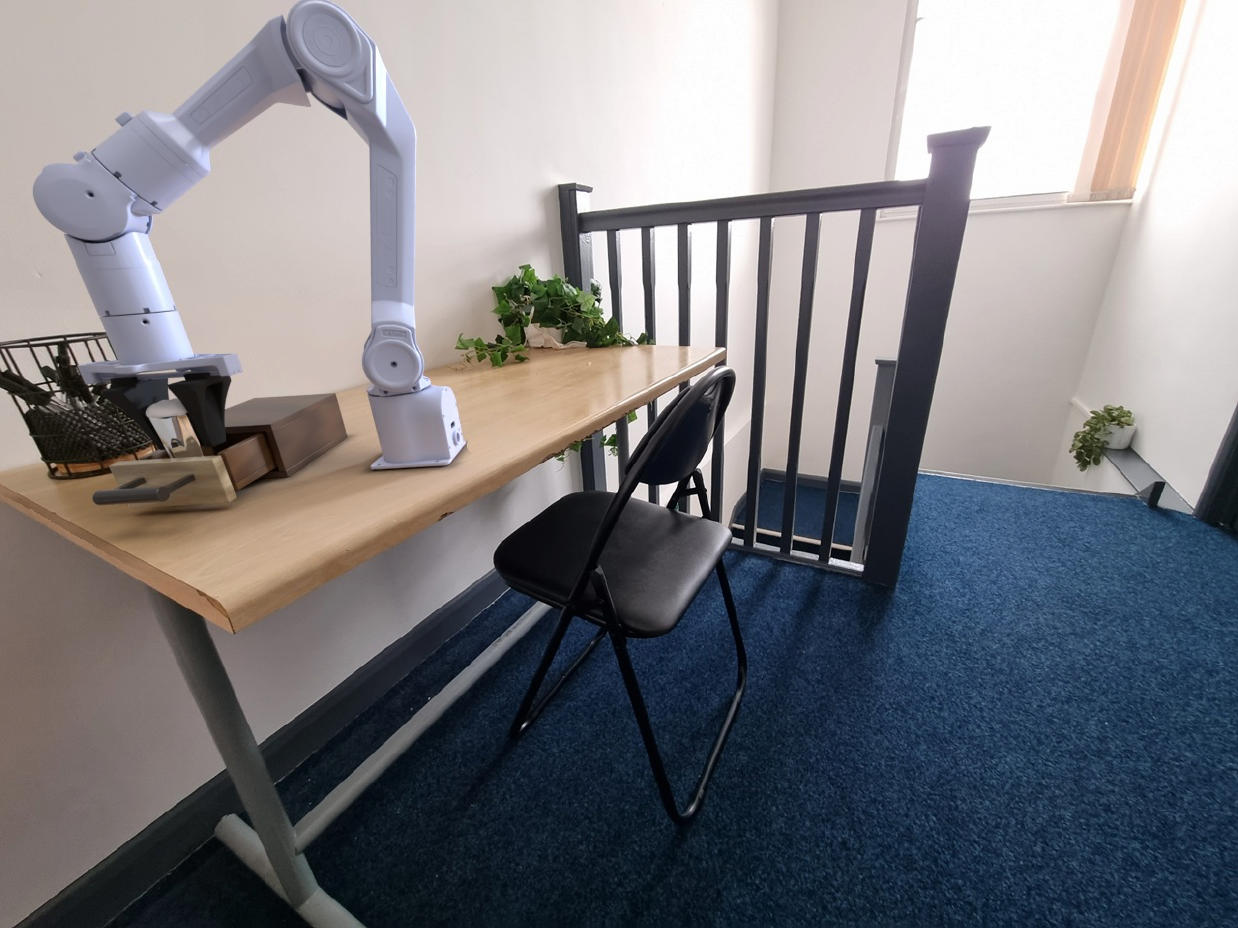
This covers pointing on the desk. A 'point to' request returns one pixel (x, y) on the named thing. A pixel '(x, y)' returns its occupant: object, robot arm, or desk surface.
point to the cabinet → (290, 427)
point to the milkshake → (177, 430)
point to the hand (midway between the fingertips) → (193, 445)
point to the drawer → (190, 474)
